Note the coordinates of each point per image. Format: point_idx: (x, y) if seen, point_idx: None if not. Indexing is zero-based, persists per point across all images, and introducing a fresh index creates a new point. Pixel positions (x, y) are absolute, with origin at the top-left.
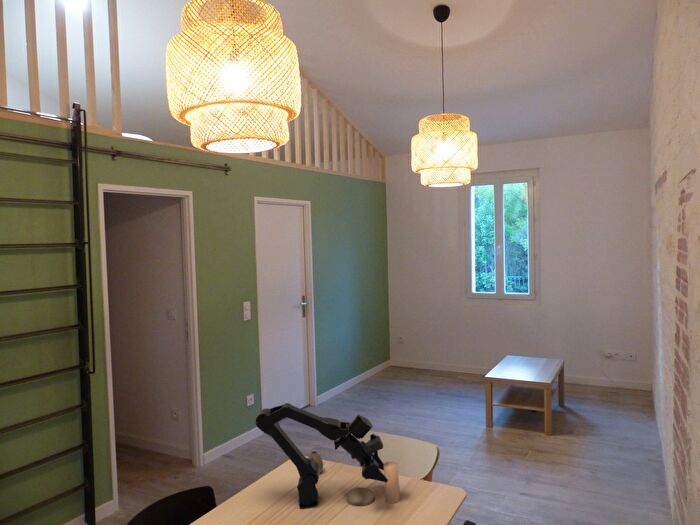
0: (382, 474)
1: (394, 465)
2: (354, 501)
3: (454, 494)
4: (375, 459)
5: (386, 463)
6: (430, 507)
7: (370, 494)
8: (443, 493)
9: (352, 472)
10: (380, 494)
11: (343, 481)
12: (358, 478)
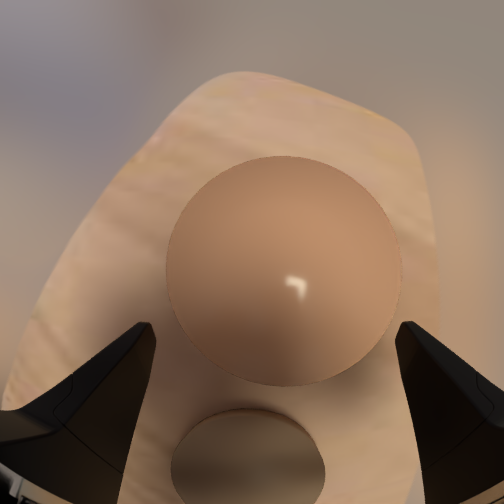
0: (478, 372)
1: (321, 201)
2: (314, 499)
3: (250, 83)
4: (82, 458)
5: (230, 329)
6: (346, 155)
7: (260, 435)
8: (238, 106)
9: None
10: (205, 372)
11: None
12: None
